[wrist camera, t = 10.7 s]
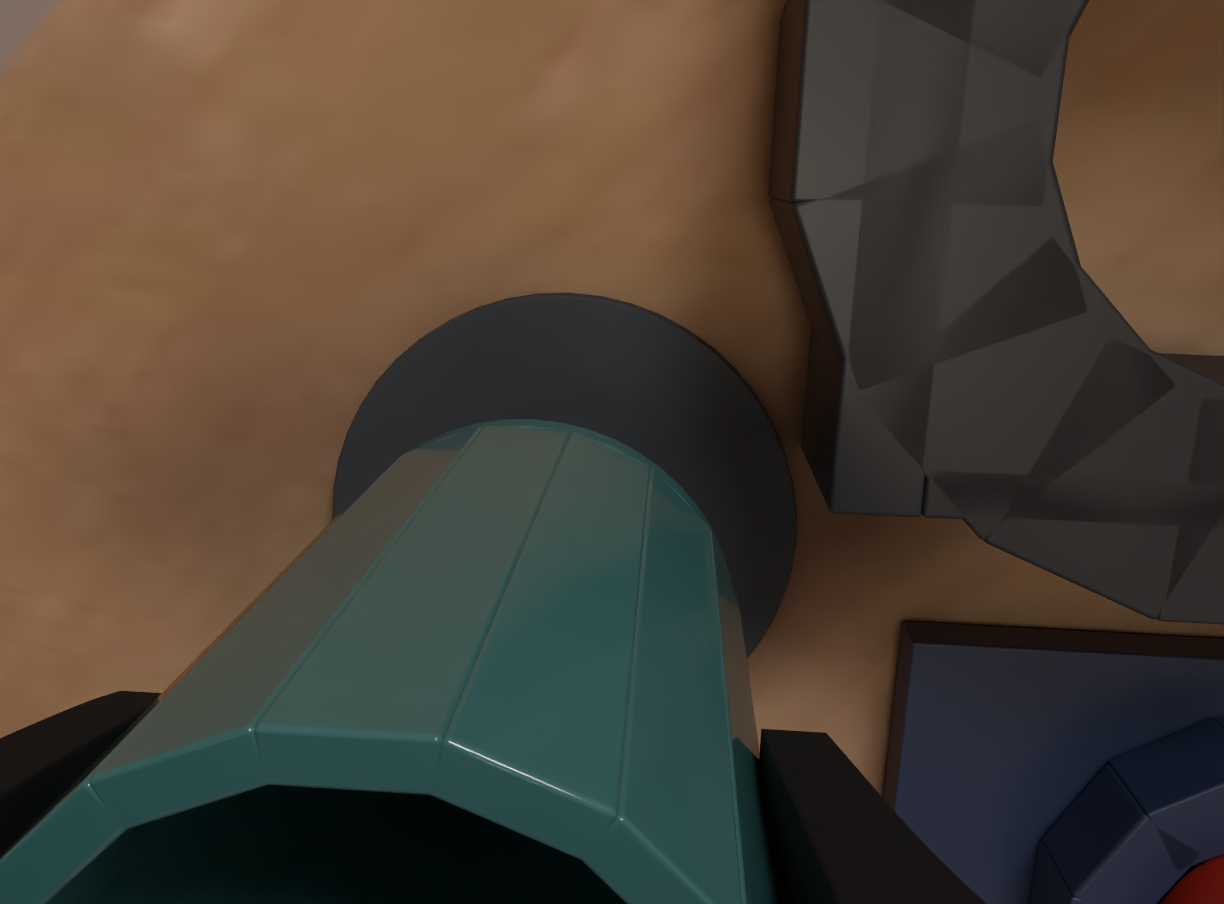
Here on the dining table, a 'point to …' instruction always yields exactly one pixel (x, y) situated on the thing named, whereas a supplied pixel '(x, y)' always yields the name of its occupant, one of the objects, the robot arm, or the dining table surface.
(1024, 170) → the cup holder
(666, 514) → the cup
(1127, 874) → the control block
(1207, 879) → the release button
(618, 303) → the coaster
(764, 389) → the dining table surface
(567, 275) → the dining table surface
